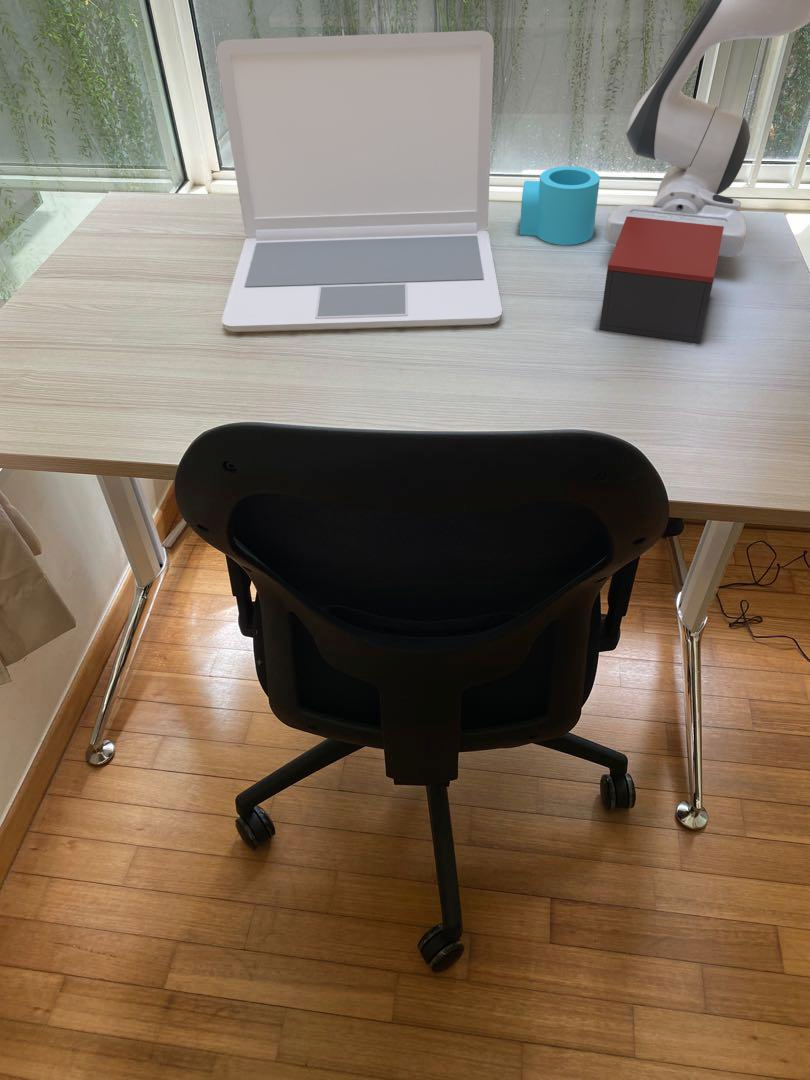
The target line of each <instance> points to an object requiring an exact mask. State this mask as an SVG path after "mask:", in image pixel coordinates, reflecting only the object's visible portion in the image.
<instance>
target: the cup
mask: <svg viewBox="0 0 810 1080" xmlns="http://www.w3.org/2000/svg"><path fill="white" fill-rule="evenodd" d="M600 179H601V177H600V175H599V173H597V172H596V171H594V170H591V169H590V168H587V167H586V168H585V167H580V166H570V165H569V166H557V167H556V166H555V167H552V168H548V169H546V170H544V171H542V172H541V173H540V175H539V180H524V182H523V187H522V193H521V205H520V222H519V235H520V236H532V237H533V236H536V237H537V238H539V239H540V240H541V241H544V242H546V243H548V244H552V245H553V244H554V245H558V246H559V245H560V246H574V245H579V244H582V243H586V242H588V241H589V240H591V239H592V238H593V236H594V230H595V223H596V214H597V213H596V212H597V205H598V196H599V189H600V188H599V187H600Z"/></svg>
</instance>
